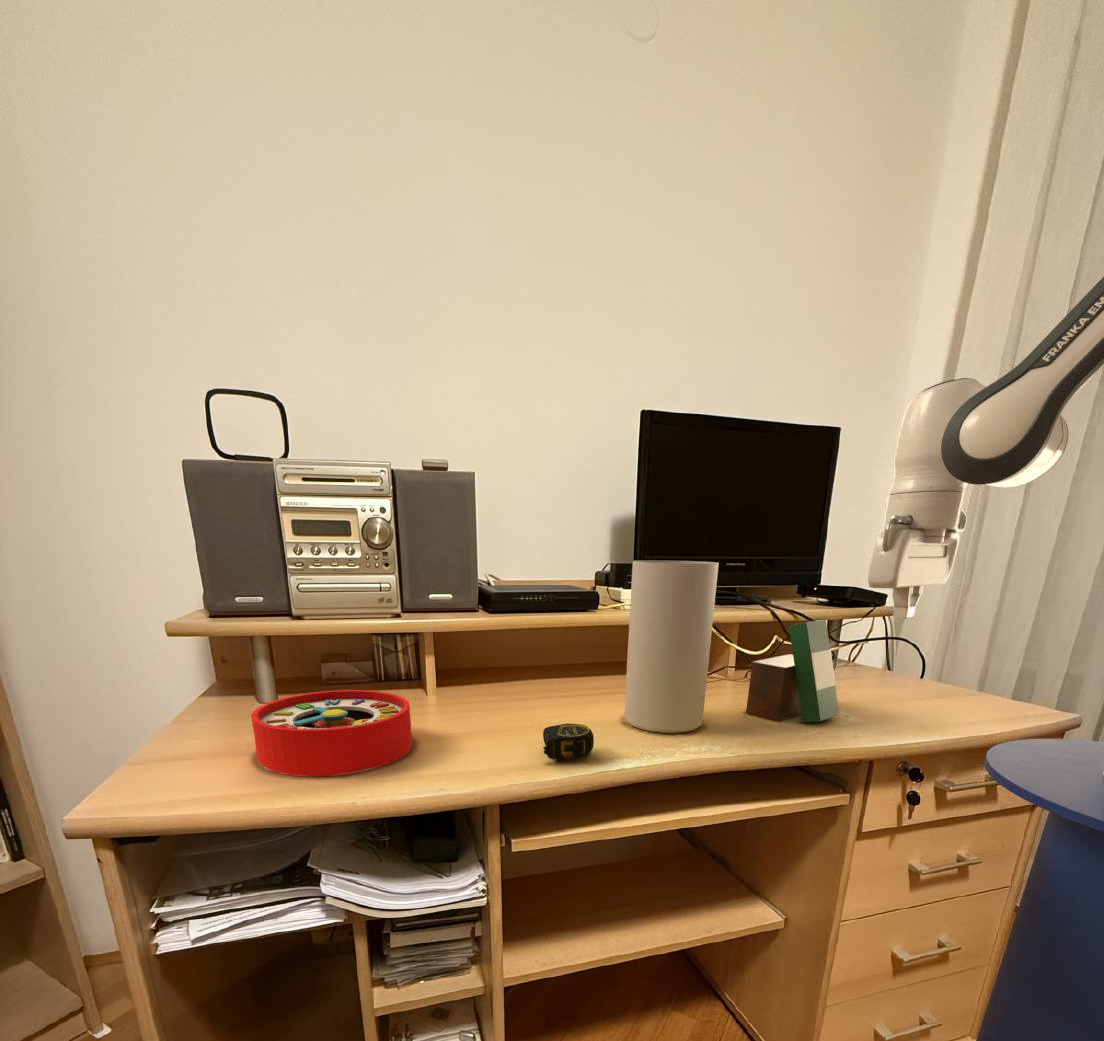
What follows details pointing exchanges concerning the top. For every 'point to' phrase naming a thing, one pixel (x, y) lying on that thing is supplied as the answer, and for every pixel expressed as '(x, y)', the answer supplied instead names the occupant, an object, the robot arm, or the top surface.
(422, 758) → the top surface
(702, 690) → the cylinder vase
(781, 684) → the block
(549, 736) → the tape measure
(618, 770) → the top surface
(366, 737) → the toy clock
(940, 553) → the robot arm
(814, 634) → the block
